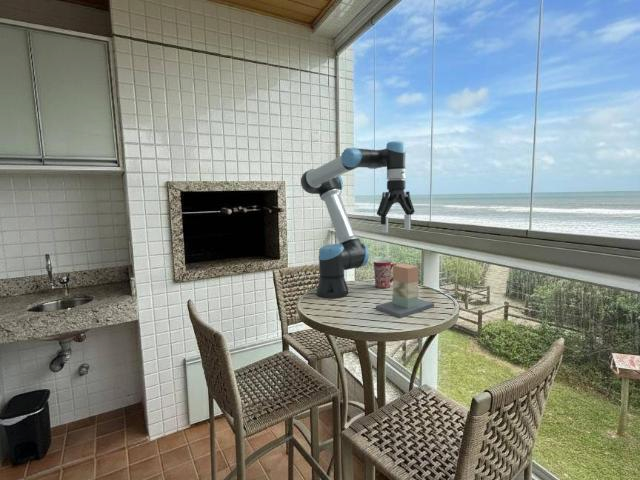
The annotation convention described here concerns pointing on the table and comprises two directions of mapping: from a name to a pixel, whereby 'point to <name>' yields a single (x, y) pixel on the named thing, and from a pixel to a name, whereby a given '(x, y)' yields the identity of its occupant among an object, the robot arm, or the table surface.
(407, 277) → the terracotta brick
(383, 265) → the mug
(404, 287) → the maple brick
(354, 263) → the robot arm
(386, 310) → the baseplate
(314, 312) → the table surface
